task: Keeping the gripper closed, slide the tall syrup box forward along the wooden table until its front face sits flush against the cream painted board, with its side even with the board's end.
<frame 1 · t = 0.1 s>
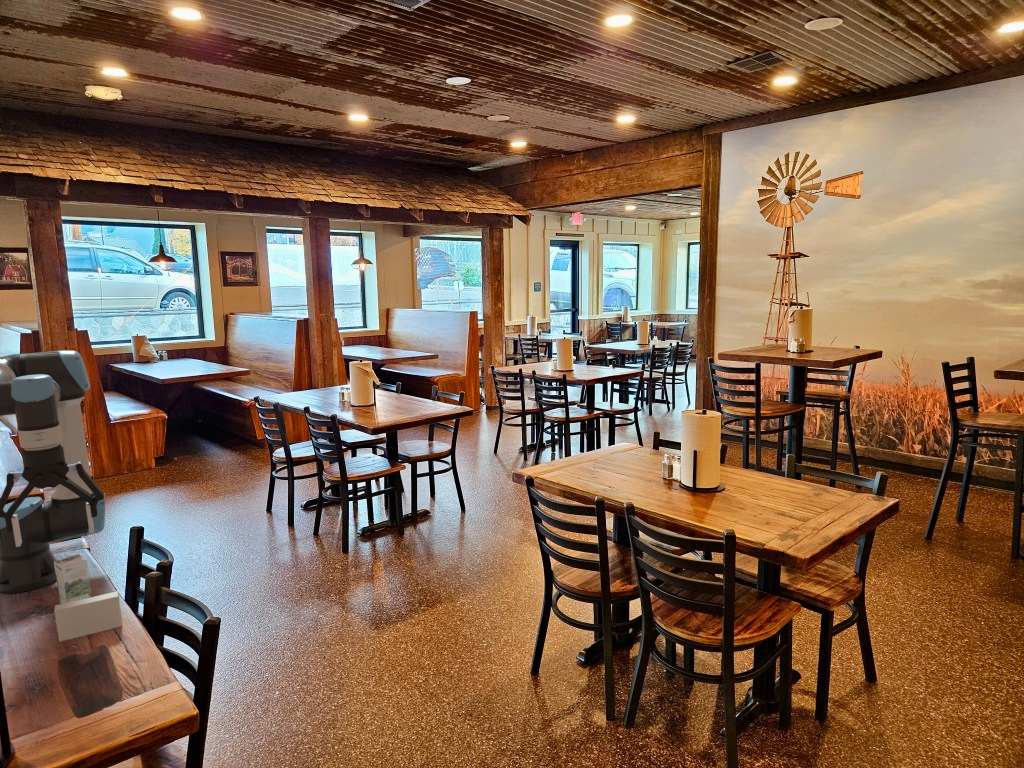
hand: (56, 537, 149), 28 cm above the table, tool pointing down, fingers open, 13 cm apart
syrup box: (77, 612, 172), on the table
wooden tablet: (90, 683, 144), on the table
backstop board: (91, 631, 163), on the table
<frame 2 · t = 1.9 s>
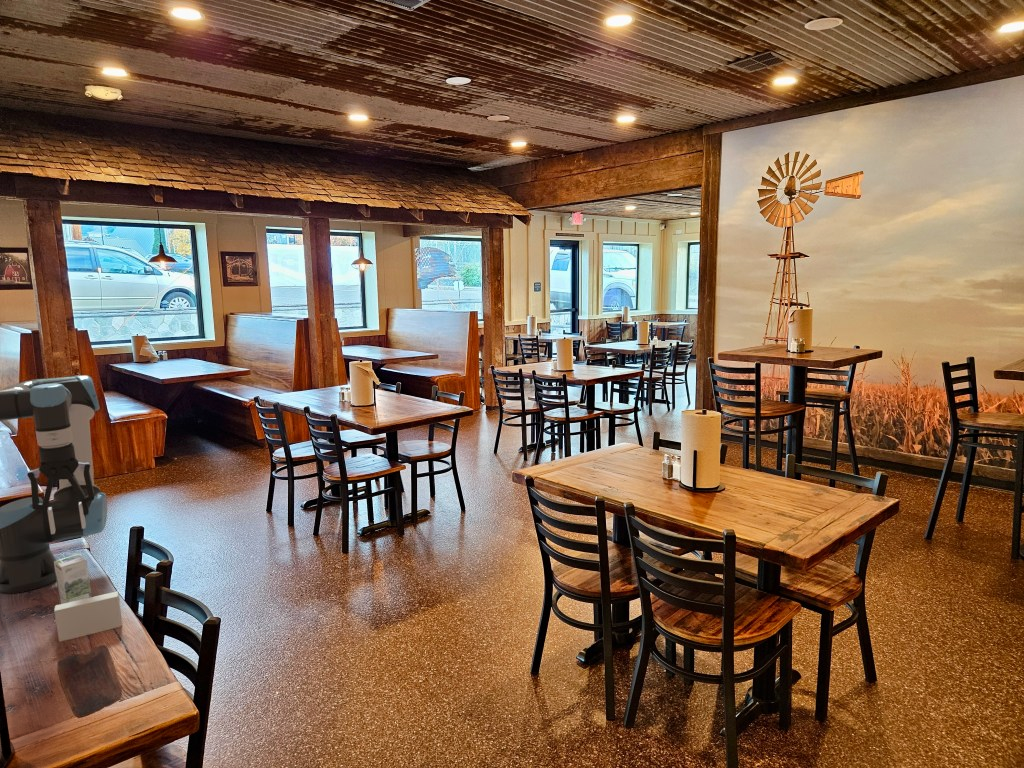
hand: (68, 529, 175), 20 cm above the table, tool pointing down, fingers open, 6 cm apart
nothing on the table moved.
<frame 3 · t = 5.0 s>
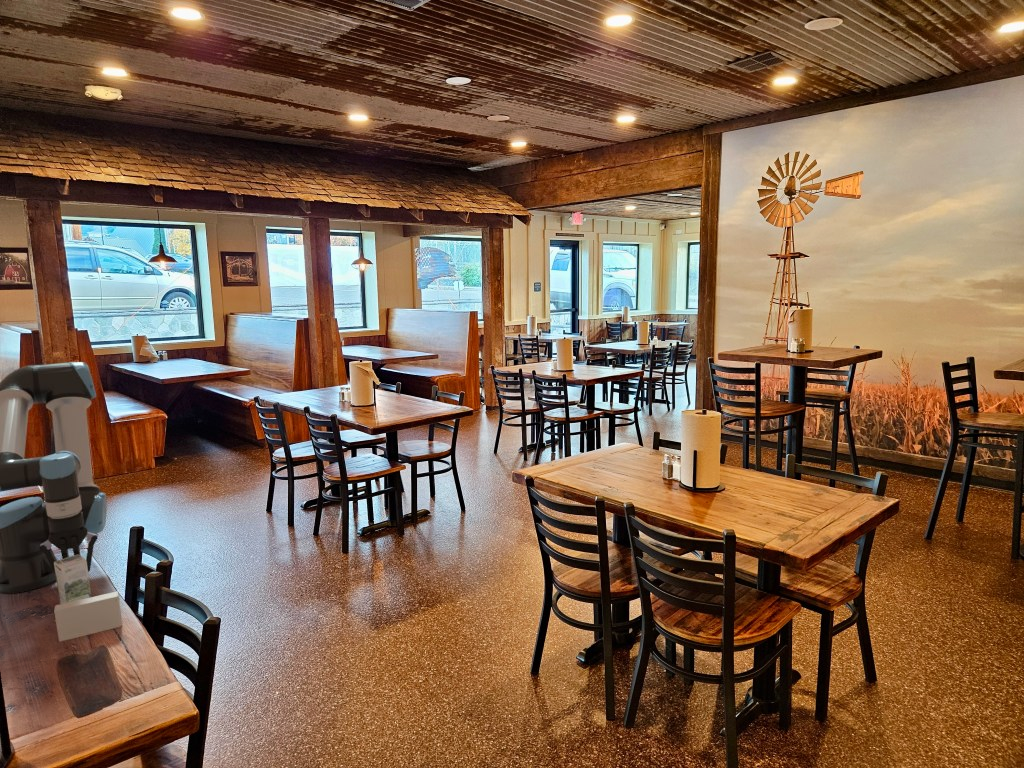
hand: (77, 598, 176), 2 cm above the table, tool pointing down, fingers closed
syrup box: (77, 613, 172), on the table, touching gripper
everything else where it was.
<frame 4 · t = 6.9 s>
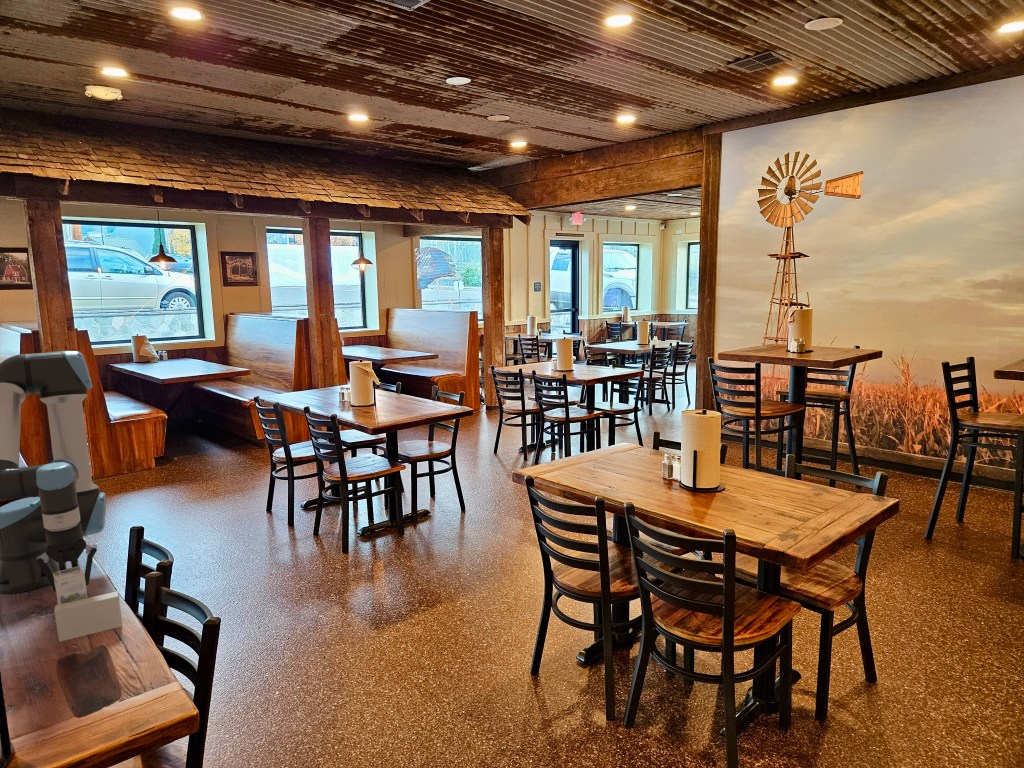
hand: (76, 613, 169), 1 cm above the table, tool pointing down, fingers closed
syrup box: (76, 627, 165), on the table, touching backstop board, gripper
everything else where it was.
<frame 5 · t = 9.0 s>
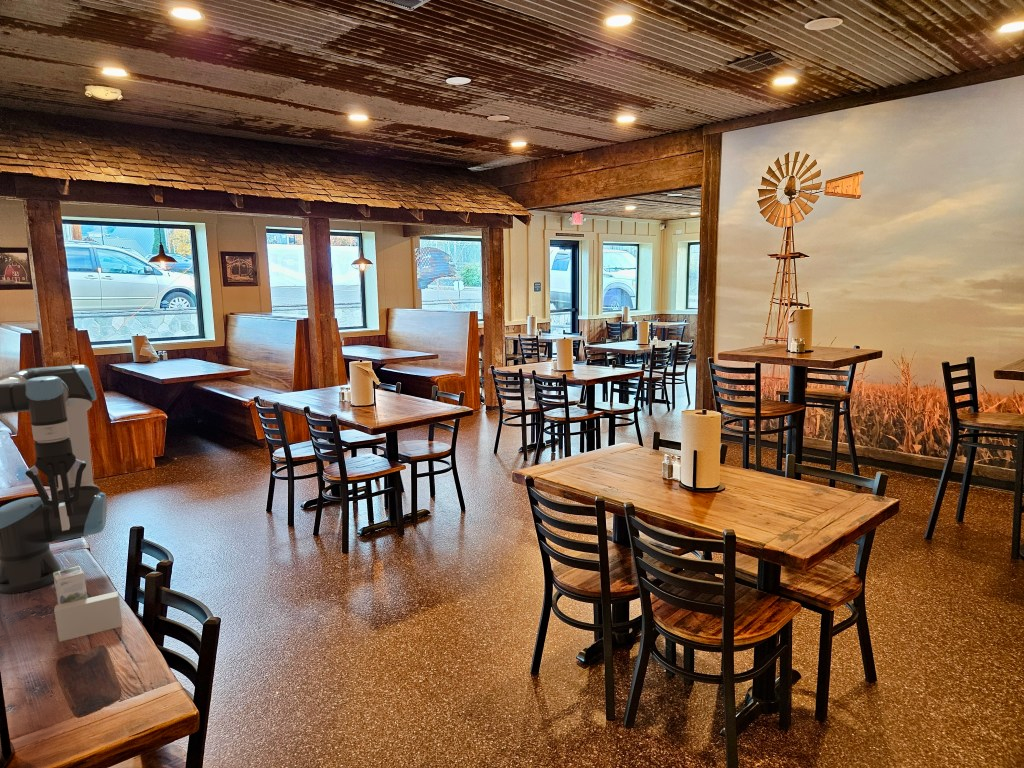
hand: (66, 528, 170), 22 cm above the table, tool pointing down, fingers closed
syrup box: (76, 626, 165), on the table, touching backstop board
everything else where it was.
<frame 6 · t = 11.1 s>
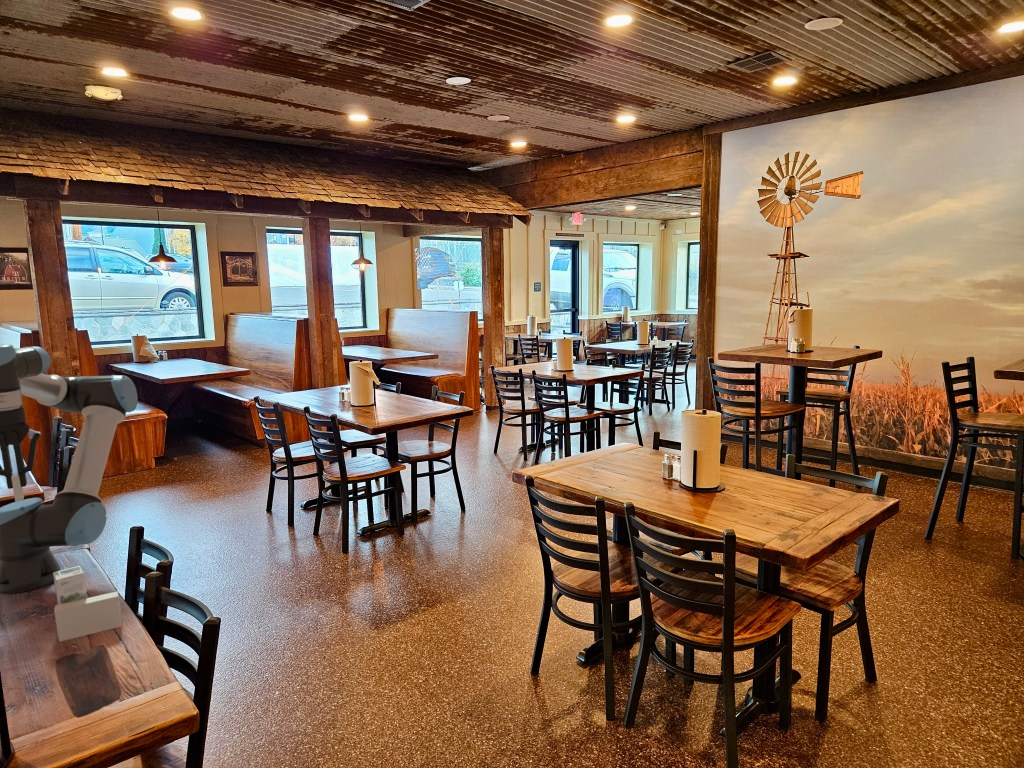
hand: (19, 499, 167), 30 cm above the table, tool pointing down, fingers closed
nothing on the table moved.
at the end: syrup box 0.2 cm from the target spot on the table beside the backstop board, on the table; syrup box tilted 0° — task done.
